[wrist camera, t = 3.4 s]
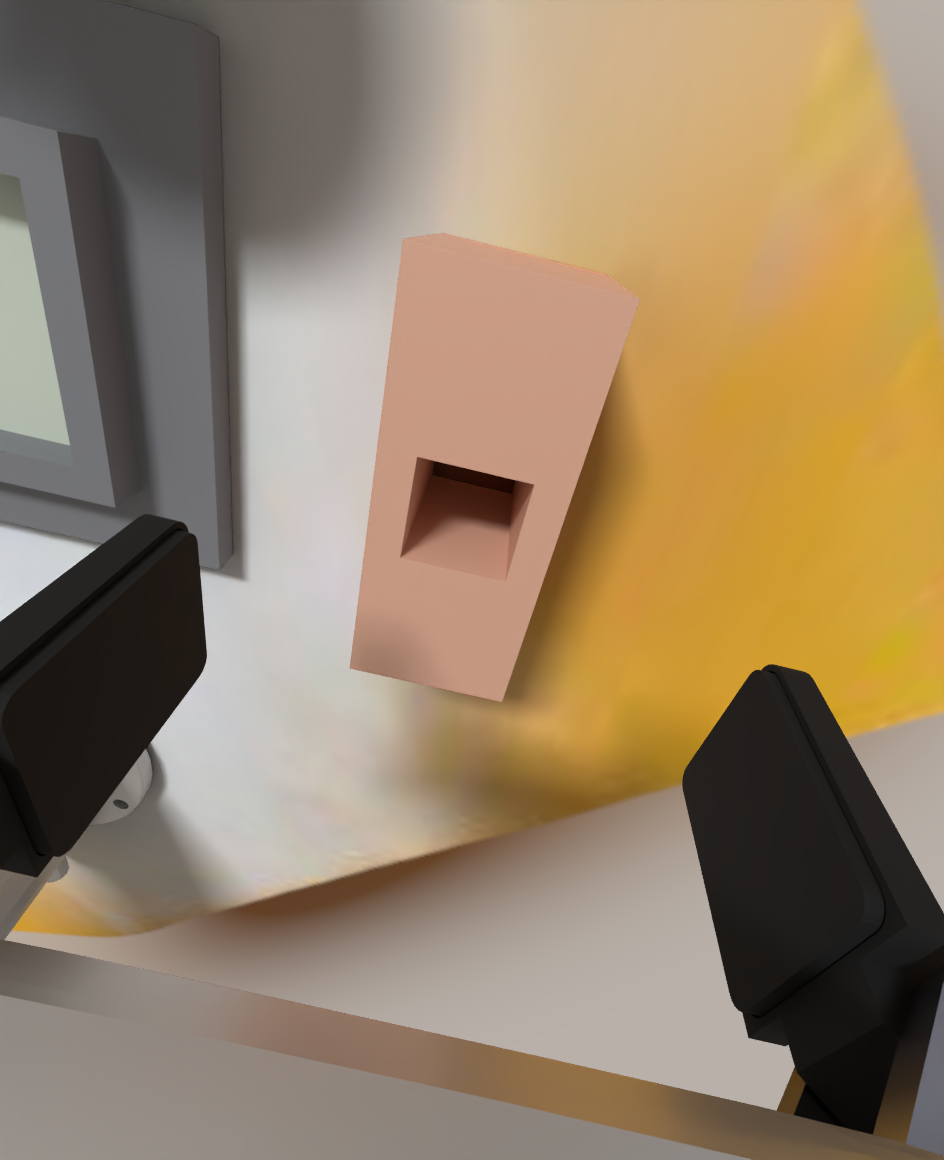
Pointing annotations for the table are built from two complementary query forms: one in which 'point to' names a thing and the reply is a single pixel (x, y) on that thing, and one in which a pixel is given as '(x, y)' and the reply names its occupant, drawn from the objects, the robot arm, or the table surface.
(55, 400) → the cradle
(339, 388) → the table surface
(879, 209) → the table surface
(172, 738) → the table surface
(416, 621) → the pink block with hole
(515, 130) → the table surface
